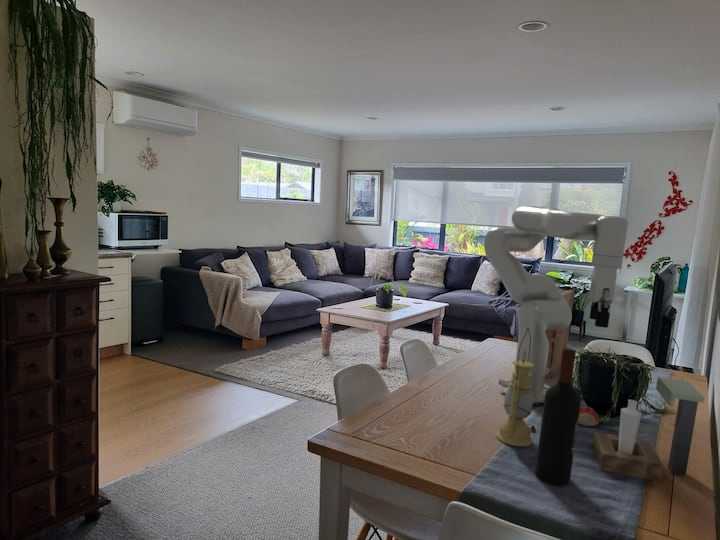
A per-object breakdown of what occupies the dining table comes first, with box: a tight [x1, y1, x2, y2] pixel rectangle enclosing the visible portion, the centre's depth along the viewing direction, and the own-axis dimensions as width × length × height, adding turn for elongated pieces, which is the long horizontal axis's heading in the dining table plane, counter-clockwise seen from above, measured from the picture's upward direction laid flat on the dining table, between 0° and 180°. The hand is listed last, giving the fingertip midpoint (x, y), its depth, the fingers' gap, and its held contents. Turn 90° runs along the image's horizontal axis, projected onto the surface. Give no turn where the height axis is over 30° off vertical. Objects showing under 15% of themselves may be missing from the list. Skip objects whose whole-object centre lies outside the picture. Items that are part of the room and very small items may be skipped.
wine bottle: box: [534, 347, 582, 487], centre depth 119 cm, size 8×8×30 cm
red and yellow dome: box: [578, 406, 600, 427], centre depth 155 cm, size 7×10×4 cm
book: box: [545, 288, 575, 379], centre depth 202 cm, size 25×9×30 cm, turn 147°
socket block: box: [591, 431, 664, 482], centre depth 130 cm, size 13×13×4 cm
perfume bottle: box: [618, 399, 643, 454], centre depth 130 cm, size 5×4×15 cm
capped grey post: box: [655, 376, 705, 477], centre depth 127 cm, size 7×12×21 cm, turn 164°
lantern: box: [495, 328, 537, 447], centre depth 137 cm, size 12×10×30 cm
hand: (598, 323), depth 146 cm, fingers open, 9 cm apart
